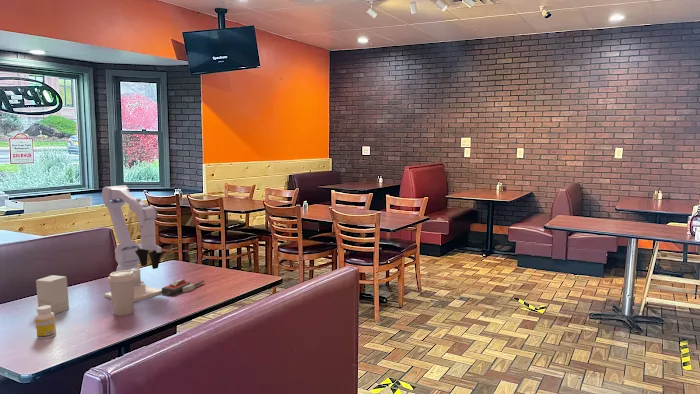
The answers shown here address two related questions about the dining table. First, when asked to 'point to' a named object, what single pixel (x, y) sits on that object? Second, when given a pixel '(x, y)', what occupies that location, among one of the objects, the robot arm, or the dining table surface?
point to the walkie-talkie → (179, 287)
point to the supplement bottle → (45, 322)
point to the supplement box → (53, 293)
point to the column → (138, 277)
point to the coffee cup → (122, 291)
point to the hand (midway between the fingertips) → (149, 267)
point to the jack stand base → (141, 292)
